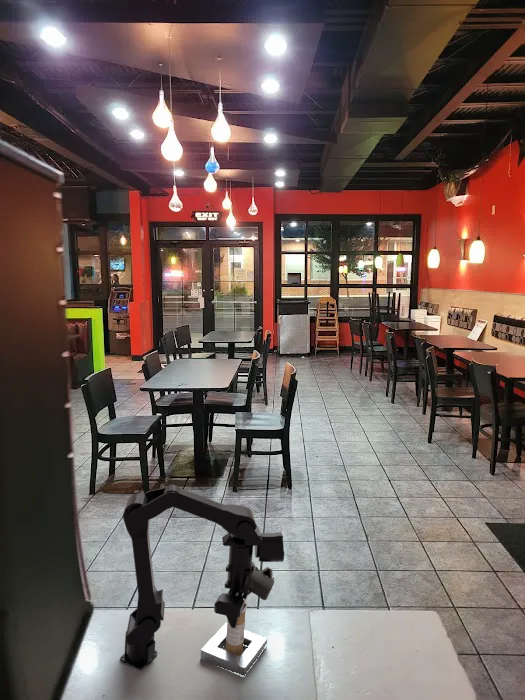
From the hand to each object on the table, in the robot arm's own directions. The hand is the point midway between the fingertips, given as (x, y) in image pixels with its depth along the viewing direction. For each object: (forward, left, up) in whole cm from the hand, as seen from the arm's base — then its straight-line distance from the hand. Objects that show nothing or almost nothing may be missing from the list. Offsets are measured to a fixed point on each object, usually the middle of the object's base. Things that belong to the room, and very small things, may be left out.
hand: (236, 621), depth 121 cm
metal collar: (0, 0, -8) cm, 8 cm away
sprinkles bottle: (0, 0, -8) cm, 8 cm away
